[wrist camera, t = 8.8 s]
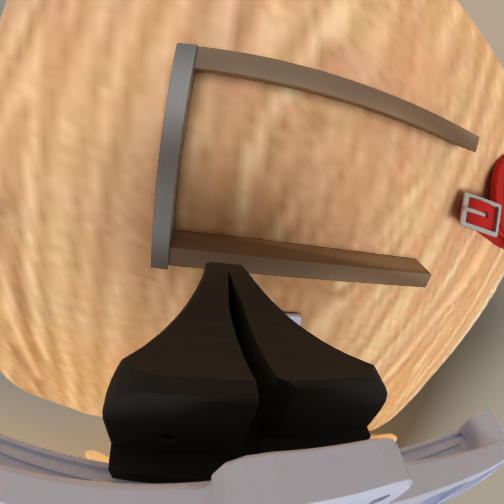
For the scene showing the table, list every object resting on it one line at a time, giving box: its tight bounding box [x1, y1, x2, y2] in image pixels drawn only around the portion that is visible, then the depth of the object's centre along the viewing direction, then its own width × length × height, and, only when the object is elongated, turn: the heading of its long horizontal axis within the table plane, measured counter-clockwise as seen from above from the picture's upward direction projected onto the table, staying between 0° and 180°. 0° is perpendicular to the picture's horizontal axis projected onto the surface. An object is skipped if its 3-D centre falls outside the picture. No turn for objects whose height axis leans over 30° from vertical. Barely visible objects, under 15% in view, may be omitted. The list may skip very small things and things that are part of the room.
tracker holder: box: [459, 156, 504, 249], centre depth 22 cm, size 12×4×10 cm
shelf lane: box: [151, 43, 479, 287], centre depth 19 cm, size 13×20×3 cm, turn 79°
